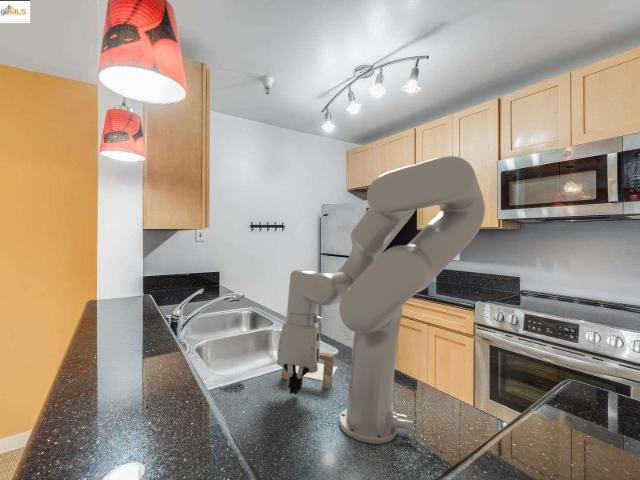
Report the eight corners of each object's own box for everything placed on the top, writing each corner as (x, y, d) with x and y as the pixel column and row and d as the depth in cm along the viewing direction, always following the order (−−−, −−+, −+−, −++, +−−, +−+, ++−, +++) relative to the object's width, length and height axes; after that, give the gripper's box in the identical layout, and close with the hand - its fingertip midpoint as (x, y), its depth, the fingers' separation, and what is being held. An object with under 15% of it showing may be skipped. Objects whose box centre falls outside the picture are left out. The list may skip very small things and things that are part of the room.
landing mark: (337, 367, 99) (337, 366, 99) (329, 382, 88) (329, 381, 88) (302, 360, 103) (302, 360, 103) (289, 374, 91) (289, 373, 91)
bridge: (285, 374, 90) (288, 345, 91) (331, 384, 87) (334, 353, 87) (281, 378, 88) (284, 348, 88) (329, 389, 84) (331, 357, 84)
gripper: (333, 320, 79) (327, 391, 79) (279, 311, 83) (273, 379, 83) (326, 326, 72) (319, 405, 72) (267, 317, 76) (261, 391, 76)
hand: (294, 391), depth 77 cm, fingers closed
